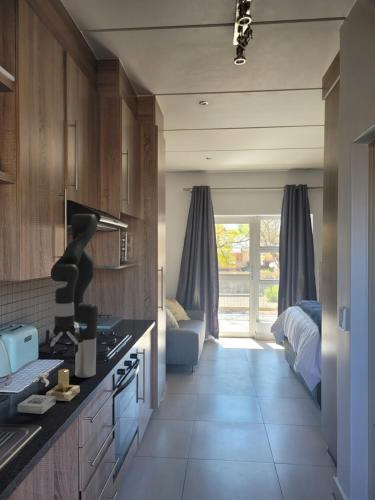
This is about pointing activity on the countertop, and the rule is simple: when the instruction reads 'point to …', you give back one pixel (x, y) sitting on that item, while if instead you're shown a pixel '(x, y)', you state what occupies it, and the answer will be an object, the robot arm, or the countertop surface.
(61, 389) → the brass peg
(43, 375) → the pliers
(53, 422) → the countertop surface
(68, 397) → the rack block
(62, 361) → the countertop surface
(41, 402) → the socket block
